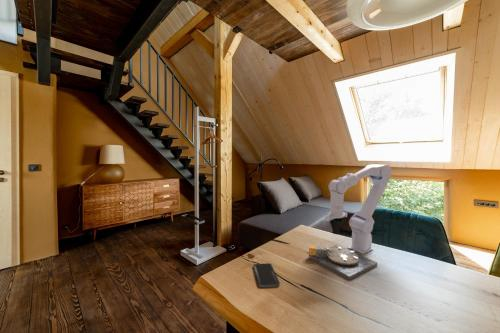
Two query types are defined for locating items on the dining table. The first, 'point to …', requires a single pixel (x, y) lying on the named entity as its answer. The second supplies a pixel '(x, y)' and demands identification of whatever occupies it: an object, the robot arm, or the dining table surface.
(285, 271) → the dining table surface
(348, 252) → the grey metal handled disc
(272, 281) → the phone
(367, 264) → the base plate
